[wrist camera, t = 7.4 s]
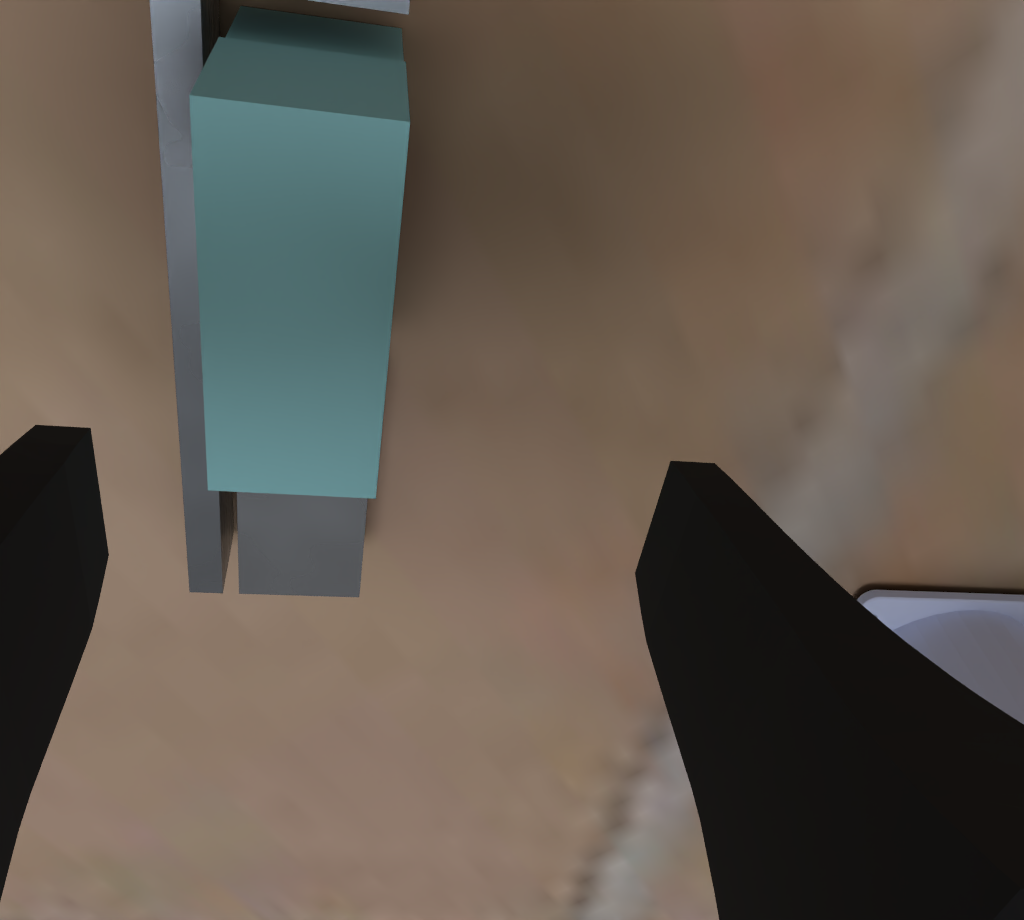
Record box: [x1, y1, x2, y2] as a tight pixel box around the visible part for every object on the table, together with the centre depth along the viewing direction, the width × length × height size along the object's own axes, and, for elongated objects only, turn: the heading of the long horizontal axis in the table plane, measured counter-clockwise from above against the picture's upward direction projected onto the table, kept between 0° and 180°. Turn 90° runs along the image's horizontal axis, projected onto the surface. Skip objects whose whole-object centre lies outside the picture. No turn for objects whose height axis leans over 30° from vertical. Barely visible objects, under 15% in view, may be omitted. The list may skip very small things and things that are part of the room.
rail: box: [150, 0, 410, 597], centre depth 19 cm, size 20×4×2 cm, turn 171°
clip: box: [189, 6, 410, 499], centre depth 18 cm, size 7×3×6 cm, turn 171°
